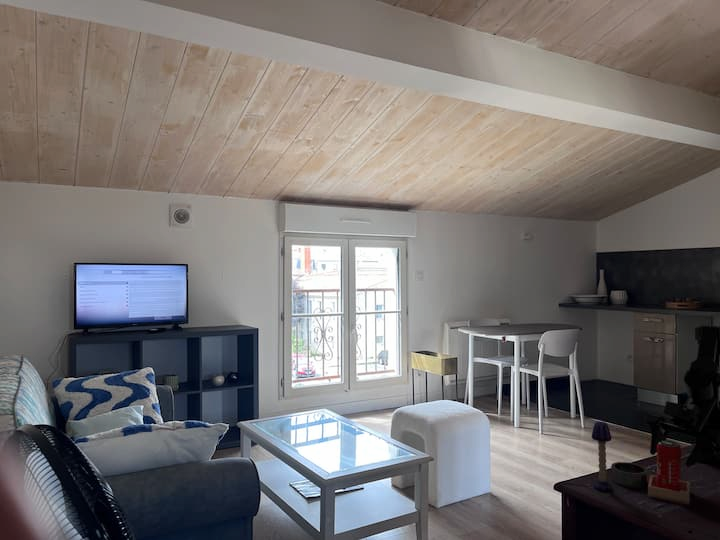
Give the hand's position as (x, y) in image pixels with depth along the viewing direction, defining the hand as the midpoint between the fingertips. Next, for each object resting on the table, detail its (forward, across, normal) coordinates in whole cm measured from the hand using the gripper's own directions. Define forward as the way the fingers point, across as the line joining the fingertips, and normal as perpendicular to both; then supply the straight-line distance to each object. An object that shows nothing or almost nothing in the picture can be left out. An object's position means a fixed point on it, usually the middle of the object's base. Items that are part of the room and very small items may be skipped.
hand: (668, 459), depth 135 cm
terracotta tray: (+6, 0, +6) cm, 8 cm away
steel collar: (+7, -10, +5) cm, 13 cm away
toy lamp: (+15, -10, -2) cm, 18 cm away
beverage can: (+6, 0, +6) cm, 8 cm away
